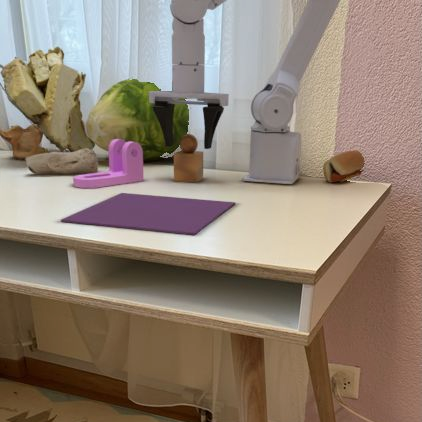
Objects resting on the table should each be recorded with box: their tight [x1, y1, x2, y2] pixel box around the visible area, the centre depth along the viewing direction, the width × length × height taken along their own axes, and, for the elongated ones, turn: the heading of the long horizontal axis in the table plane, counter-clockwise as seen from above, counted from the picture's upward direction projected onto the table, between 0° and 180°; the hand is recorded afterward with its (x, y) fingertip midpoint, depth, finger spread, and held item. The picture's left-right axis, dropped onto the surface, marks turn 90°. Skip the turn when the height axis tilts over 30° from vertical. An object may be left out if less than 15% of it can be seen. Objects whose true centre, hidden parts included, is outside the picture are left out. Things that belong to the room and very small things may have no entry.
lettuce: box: [85, 78, 189, 162], centre depth 131 cm, size 17×23×17 cm
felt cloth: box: [60, 192, 236, 236], centre depth 91 cm, size 20×20×1 cm
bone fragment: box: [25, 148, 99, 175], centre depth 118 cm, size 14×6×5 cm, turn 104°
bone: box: [0, 123, 49, 161], centre depth 134 cm, size 12×10×8 cm
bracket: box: [72, 139, 145, 189], centre depth 110 cm, size 13×6×7 cm, turn 134°
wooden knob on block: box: [173, 133, 204, 184], centre depth 113 cm, size 4×4×8 cm
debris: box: [0, 46, 96, 153], centre depth 129 cm, size 26×30×14 cm
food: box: [322, 149, 365, 183], centre depth 118 cm, size 14×6×5 cm
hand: (188, 147), depth 112 cm, fingers open, 7 cm apart
